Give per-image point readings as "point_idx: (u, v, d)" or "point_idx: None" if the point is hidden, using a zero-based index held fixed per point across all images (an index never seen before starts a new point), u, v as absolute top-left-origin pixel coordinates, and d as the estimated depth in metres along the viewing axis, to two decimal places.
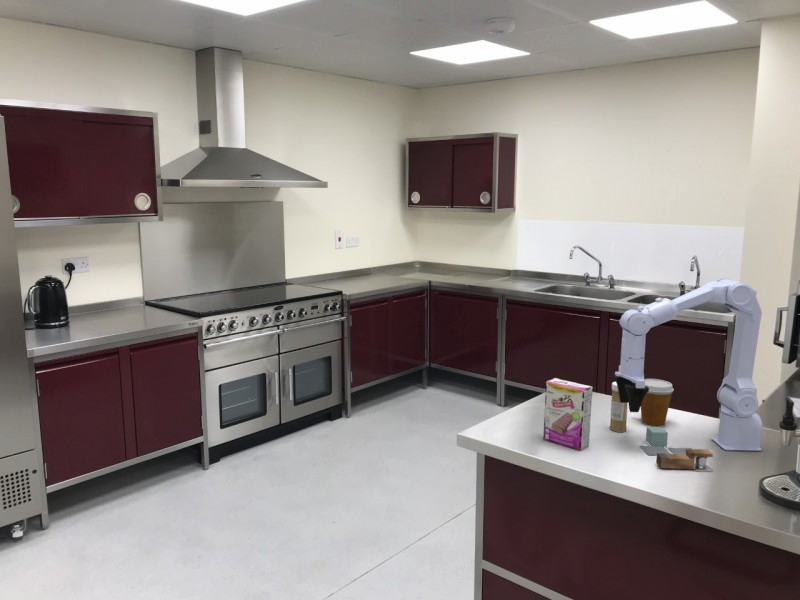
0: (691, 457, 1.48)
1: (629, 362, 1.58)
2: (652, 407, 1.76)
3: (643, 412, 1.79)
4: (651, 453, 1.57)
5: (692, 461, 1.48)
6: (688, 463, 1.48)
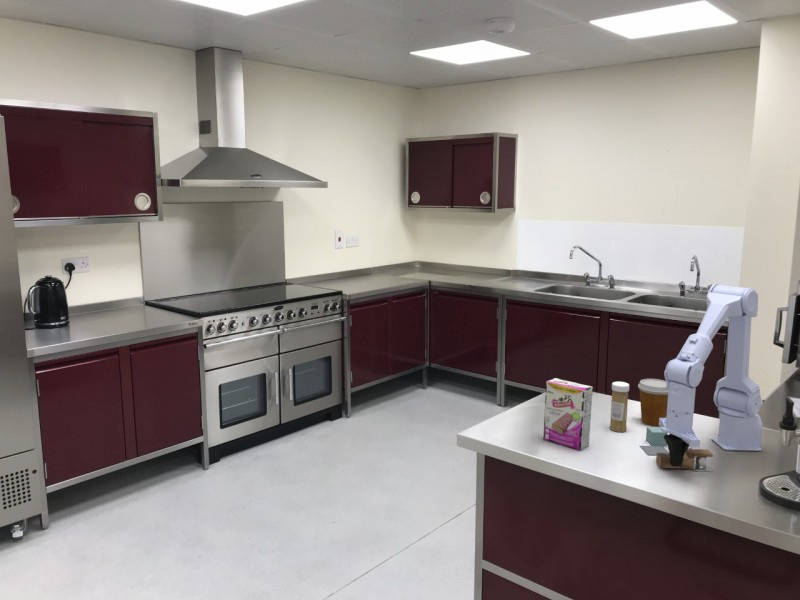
0: (691, 457, 1.48)
1: (679, 417, 1.43)
2: (652, 407, 1.76)
3: (643, 412, 1.79)
4: (651, 453, 1.57)
5: (692, 461, 1.48)
6: (688, 463, 1.48)
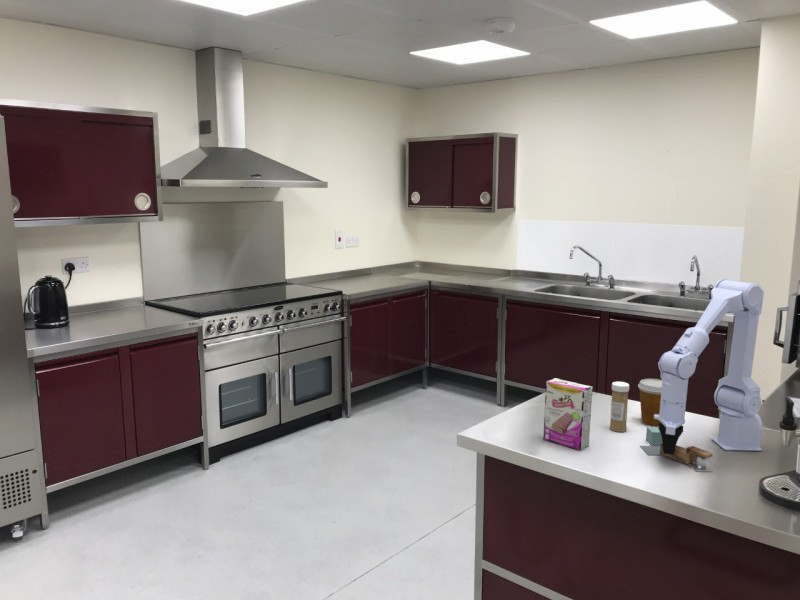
0: (687, 452, 1.51)
1: (665, 406, 1.50)
2: (652, 407, 1.76)
3: (643, 412, 1.79)
4: (651, 453, 1.57)
5: (687, 456, 1.50)
6: (683, 457, 1.51)
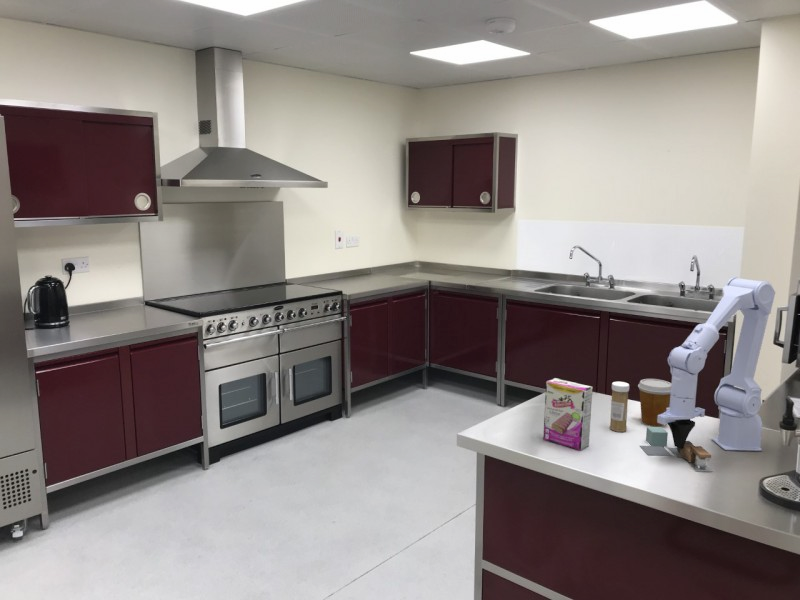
0: (690, 450, 1.52)
1: (670, 398, 1.54)
2: (652, 407, 1.76)
3: (643, 412, 1.79)
4: (651, 453, 1.57)
5: (689, 454, 1.52)
6: (688, 455, 1.53)
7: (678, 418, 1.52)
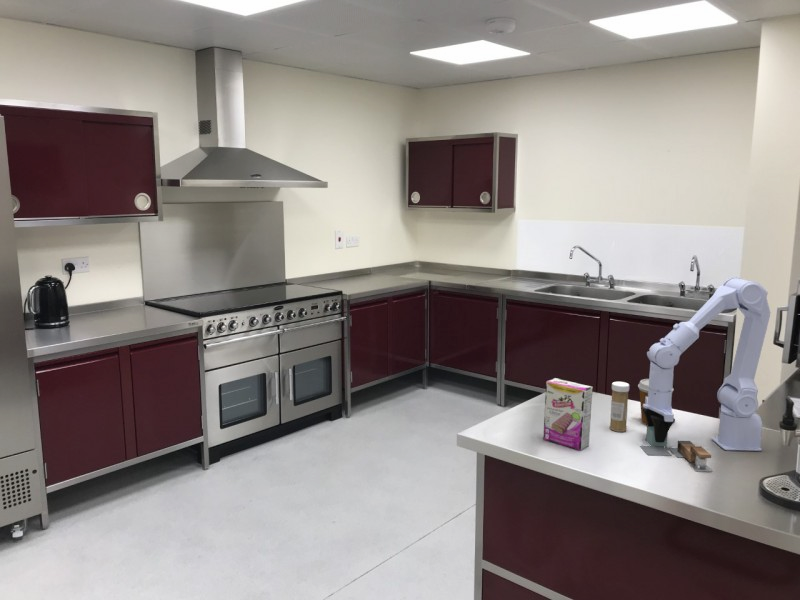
0: (690, 450, 1.52)
1: (657, 395, 1.60)
2: None
3: (643, 412, 1.79)
4: (651, 453, 1.57)
5: (690, 454, 1.52)
6: (688, 455, 1.53)
7: (671, 411, 1.59)
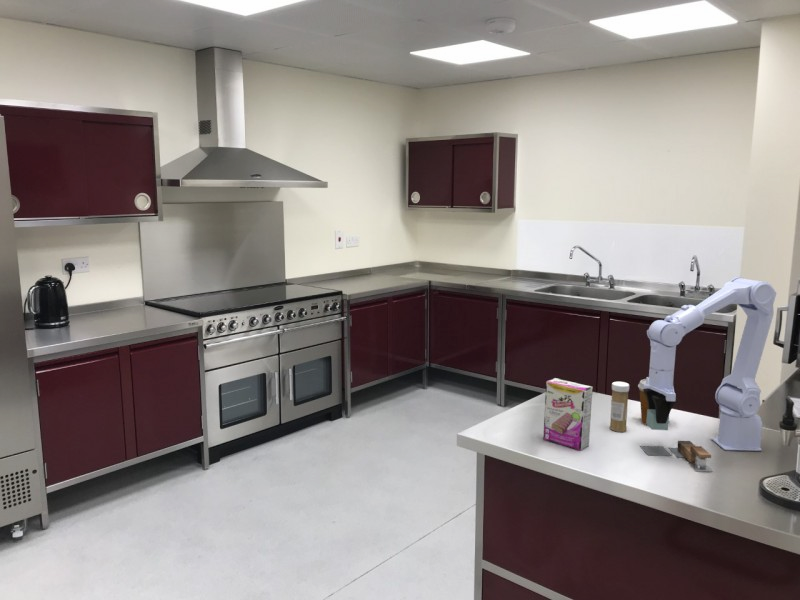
0: (690, 450, 1.52)
1: (659, 374, 1.54)
2: None
3: (643, 412, 1.79)
4: (651, 453, 1.57)
5: (690, 454, 1.52)
6: (688, 455, 1.53)
7: None
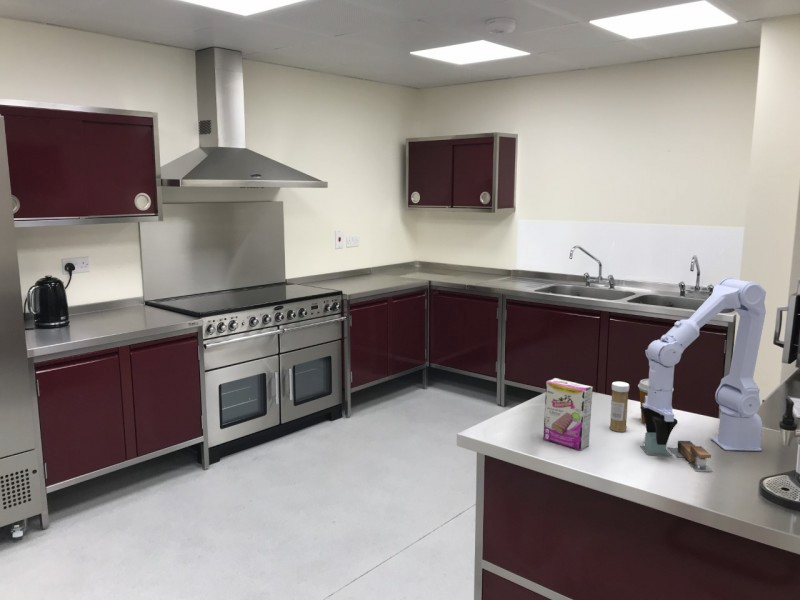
0: (690, 450, 1.52)
1: (657, 394, 1.55)
2: None
3: None
4: (651, 453, 1.57)
5: (690, 454, 1.52)
6: (688, 455, 1.53)
7: None
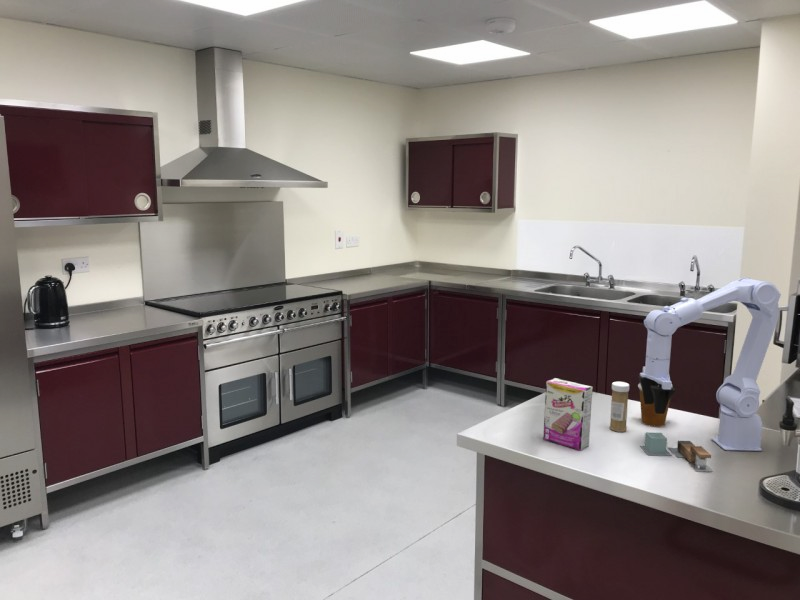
0: (690, 450, 1.52)
1: (655, 363, 1.57)
2: (652, 407, 1.76)
3: (643, 412, 1.79)
4: (651, 453, 1.57)
5: (690, 454, 1.52)
6: (688, 455, 1.53)
7: (669, 379, 1.56)
